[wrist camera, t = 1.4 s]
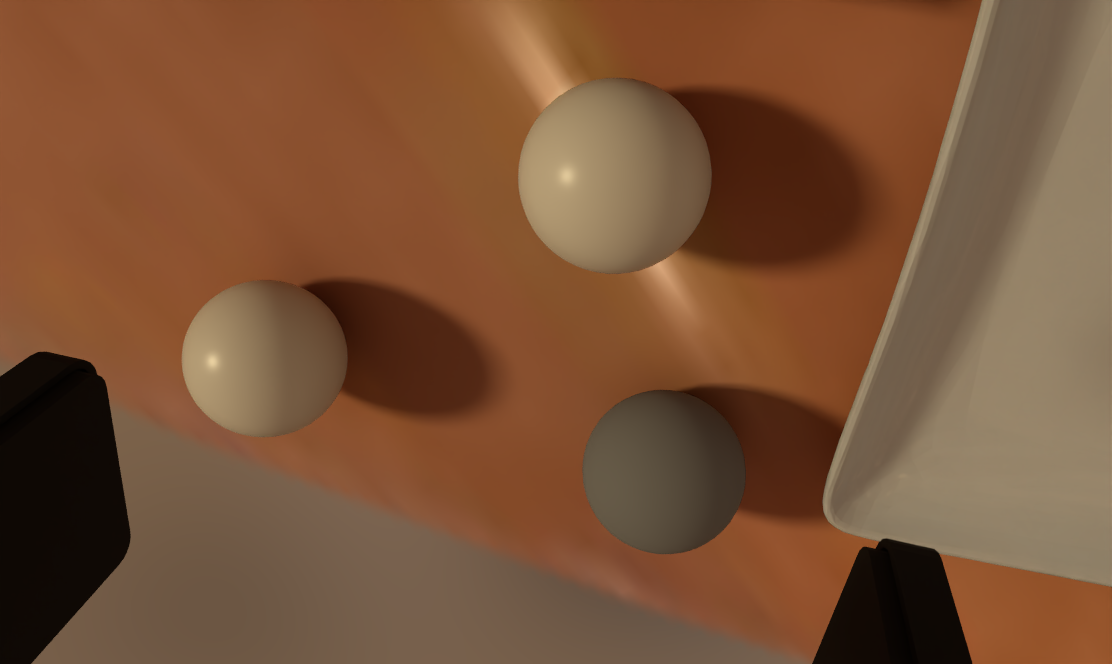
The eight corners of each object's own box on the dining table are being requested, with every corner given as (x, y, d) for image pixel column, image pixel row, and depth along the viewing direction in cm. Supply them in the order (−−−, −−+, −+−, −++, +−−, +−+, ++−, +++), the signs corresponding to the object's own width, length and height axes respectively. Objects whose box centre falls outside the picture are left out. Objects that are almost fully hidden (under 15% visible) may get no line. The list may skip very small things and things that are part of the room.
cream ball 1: (372, 271, 28) (304, 345, 23) (369, 396, 30) (308, 484, 26) (229, 242, 28) (137, 310, 24) (238, 367, 31) (156, 449, 26)
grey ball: (761, 378, 27) (765, 475, 23) (726, 498, 29) (724, 606, 25) (607, 346, 27) (582, 436, 23) (585, 466, 30) (559, 567, 26)
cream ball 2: (732, 76, 23) (730, 125, 18) (694, 245, 25) (684, 324, 21) (550, 45, 23) (507, 86, 19) (530, 214, 26) (489, 284, 21)
